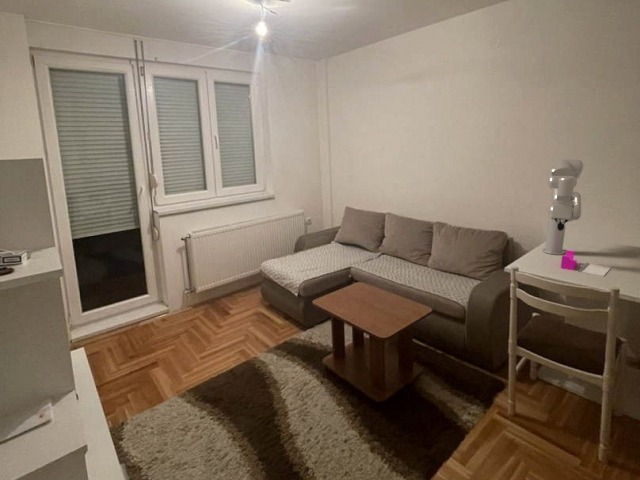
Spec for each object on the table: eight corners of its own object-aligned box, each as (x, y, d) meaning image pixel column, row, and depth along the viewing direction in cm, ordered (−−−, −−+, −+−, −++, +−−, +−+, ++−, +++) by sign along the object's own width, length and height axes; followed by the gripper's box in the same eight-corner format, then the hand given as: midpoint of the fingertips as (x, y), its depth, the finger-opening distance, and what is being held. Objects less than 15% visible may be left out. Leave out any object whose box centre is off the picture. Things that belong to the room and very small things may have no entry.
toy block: (573, 270, 212) (575, 258, 210) (560, 268, 216) (562, 256, 214) (577, 264, 223) (579, 251, 221) (565, 262, 227) (566, 250, 225)
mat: (586, 264, 222) (586, 262, 221) (610, 268, 214) (611, 266, 213) (578, 271, 210) (578, 269, 209) (603, 276, 202) (603, 274, 201)
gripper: (581, 199, 213) (577, 230, 217) (551, 197, 224) (548, 227, 228) (577, 200, 208) (573, 233, 212) (547, 198, 219) (544, 229, 223)
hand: (560, 230), depth 220 cm, fingers closed
